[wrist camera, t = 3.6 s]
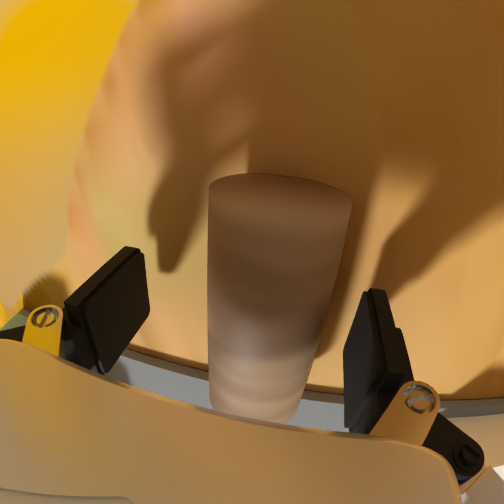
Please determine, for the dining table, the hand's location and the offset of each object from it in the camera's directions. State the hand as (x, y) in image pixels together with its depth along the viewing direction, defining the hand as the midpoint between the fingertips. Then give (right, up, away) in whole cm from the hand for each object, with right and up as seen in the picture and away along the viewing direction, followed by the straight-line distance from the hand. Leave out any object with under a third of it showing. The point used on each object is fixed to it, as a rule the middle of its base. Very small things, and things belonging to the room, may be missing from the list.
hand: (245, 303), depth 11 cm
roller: (0, +1, +1) cm, 1 cm away
